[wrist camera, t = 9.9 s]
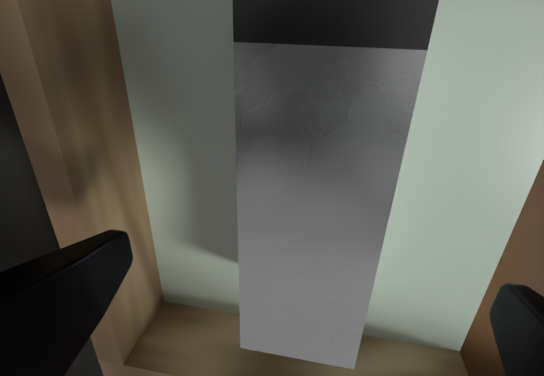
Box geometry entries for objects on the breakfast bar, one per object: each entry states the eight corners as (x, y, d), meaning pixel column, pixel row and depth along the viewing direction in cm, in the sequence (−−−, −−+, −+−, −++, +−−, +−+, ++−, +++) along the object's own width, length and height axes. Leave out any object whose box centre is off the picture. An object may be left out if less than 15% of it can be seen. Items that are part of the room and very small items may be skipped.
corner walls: (616, -28, 8) (812, -67, 5) (450, 362, 16) (482, 458, 12) (80, -28, 11) (-43, -54, 7) (149, 309, 18) (104, 377, 15)
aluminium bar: (350, 286, 14) (354, 369, 11) (263, 272, 15) (240, 347, 11) (404, -4, 9) (444, -22, 6) (269, -6, 10) (231, -25, 6)
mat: (616, -28, 8) (625, -30, 8) (450, 362, 16) (452, 368, 15) (80, -28, 11) (73, -29, 11) (149, 309, 18) (146, 313, 18)
